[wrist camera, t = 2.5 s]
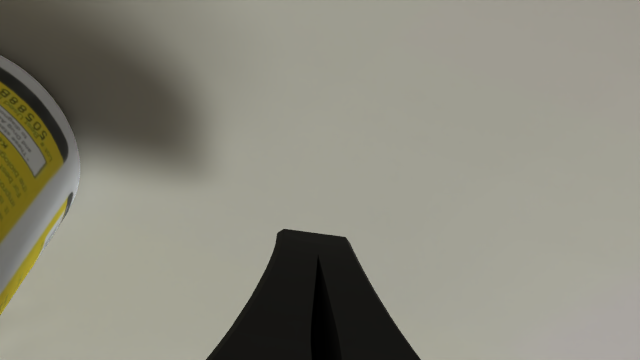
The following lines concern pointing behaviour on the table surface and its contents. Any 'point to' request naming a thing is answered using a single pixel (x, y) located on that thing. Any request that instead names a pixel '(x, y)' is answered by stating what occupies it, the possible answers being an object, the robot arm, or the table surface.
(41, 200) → the supplement bottle
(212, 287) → the table surface
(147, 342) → the table surface
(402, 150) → the table surface
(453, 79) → the table surface
